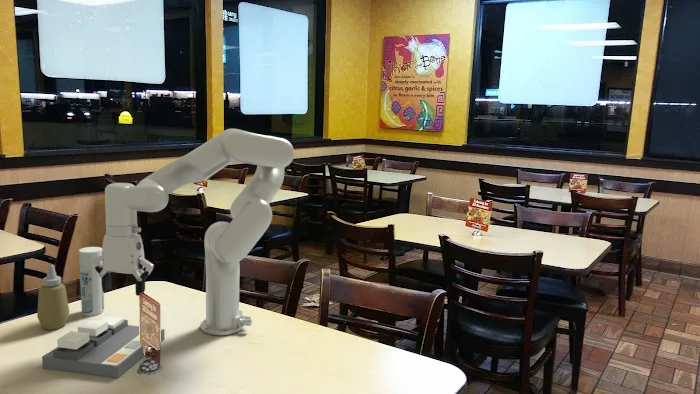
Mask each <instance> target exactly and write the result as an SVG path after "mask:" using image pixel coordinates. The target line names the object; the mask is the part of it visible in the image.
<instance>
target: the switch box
mask: <svg viewBox="0 0 700 394" xmlns="http://www.w3.org/2000/svg"><path fill="white" fill-rule="evenodd" d="M160 329H161V343H162V342H164V341H165V337H166V335H165V329H163V328H160ZM89 340H90V341H88V342H87V343H85V344H84V345H82V346H81V347H79V348H78V349H68V348H60V347H58V346H56V347H55V348H54V349H52V350H50V351H49V352H48V353H47V352H46V354H44V355H42V357H41V358H42V360H41V361H42V369H48V370H54V371H62V372H70V373H77V374H83V375H93V376H99V377H107V378H116V379H119V378H120V377H122V376H123V375H124V374H125V373H126V372H128V371H129V370H130V369H131V368H132V367H134V365H136V364H138V362H140V361H141V360H142V359H143V358H144V357H146V355H144V353H143V346H141V343H140V334H139V325H132V324H131V325H130V324H129V321H128V319H124V322H123V323H121V324H120V325H118V326H117V327H115V328H108V329H107V330H105V331H104V332H102V333H101V334H99V335H98V336H96V337H94V336H89Z"/></svg>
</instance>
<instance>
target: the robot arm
mask: <svg viewBox="0 0 700 394" xmlns="http://www.w3.org/2000/svg"><path fill="white" fill-rule="evenodd" d="M294 158H295V148H294V147H293V144H292V143H291V142H290V141H288V140H287V139H285V138H283V137H277V136H273V135H264V134H258V133H254V132H251V131H250V132H249V131H247V130H242V129H240V128H239V129H238V128H227V129H225V130H224V131H222V132H220V133H218V134H217V135H215V136H214V137H212V138H210V139H209V140H208V141H206V142H204V143H203V144H201V145H200V146H198V147H196V148H195V149H193V150H192V151H190V152H188V153H187V154H184V155H183V156H182V155H181V156H180V157H179V158H177V159H175V160H174V161H172V162H171V161H170V162H169V163H167V164H166V165H164V166H162V167H160V168H159V169H157V170H155V171H154V172H152V173H150V174H149V175H147V176H146V177H144V178H143V179H141V180H140V181H139V182H138V183H137V185H134V184H132V183H128V182H115V183H110V184H109V183H108V185H106V186H105V188H104V198H105V199H104V201H105V203H104V205H105V234H104V237H103V241H102V247H101V248H102V256H99V257H97V258H95V259H93V260H92V263H93V265H94V267H95V270H96V271H97V272H98V273H99V276H100V277H101V279H102V291H103V292H104V293H106V292H107V291H109V290H111V289H112V287H113V286H112V285H113V284H112V283H113V282H112V274H111V273H117V274H118V273H119V274H128V275H129V274H130V275H131V274H132V275H133V277H135V279H136V281H135V295H136V296H139V297H140V295H141V294H140V292H143V293H144V294H145V291H146V279H147V278H148V277H149V276H150V275H151V273H152V272H153V269H154V267H155V265H154V264H153V263H152V262H150V261H149V260H147V259H146V258H145V251H144V244H143V239H142V237H141V234H139V233H141V232H142V228H141V227H139V226H138V215H137V214H138V212H145V213H146V212H147V213H155V212H156V213H158V212H160V211H162V210H163V209H165V208H166V207H167V205H168V203H169V200H170V199H169V194H171V193H173V192H174V191H176V190H178V189H180V188H182V187H185V186H186V185H189V184H194V183H199V182H203V181H206V180H208V179H209V178H210V177H212V176H214V175H215V174H216V173H218V172H219V171H221V170H223V169H224V168H225V167H227V166H228V165H230V164H231V163H233V162H234V161H235V162H239V163H244V164H249V165H253V166H254V165H255V166H257V167H256V170H255V173H254V174H253V176H252V177H251V179H250V180H249V182H247V184H246V185H245V186H244V188H243V189H242V190H241V192H240V193H239V194H238V195H237V196H236V197H235V199H234V200H233V201H232V203H231V204H230V209H229V210H230V211H229V212H230V215H231V218H232V219H231V221H230V222H227V221H217V222H215V223H212V224H211V225H210V226H209V227H208V228H207V230H206V231H205V234H204V242H203V243H204V255H205V319H203V320H202V321H201V323H200V330H201V331H202V332H203V333H205V334H207V335H212V336H227V335H232V334H233V335H234V334H237V333H239V332H240V331H241V330H242V329H244V327H247V326H248V327H252V324H253V320H252V319H251V318H252V317H251V316H247V315H246V316H244V314H243V310H240V277H241V275H240V274H241V273H240V261H242V260H243V259H245V257H246V256H247V255H248V254H250V252H251V250H252V249H253V248H254V247H255V246H256V244H257V242H258V241H259V240H260V239H261V238H262V237H263V235H264V233H266V231H267V230H268V228H269V227H270V224H271V223H272V219H273V210H272V207H271V205H270V203H271V202H272V200H274V198H275V196H276V195H277V194H278V193H279V191H280V189H281V187H282V186H283V185H282V184H283V183H284V179H285V168H286V167H287V166H289V165H290V164H291V163H292V162H293V160H294ZM100 261H102V265H101V263H100ZM144 269H145V270H144ZM143 293H142V294H143Z"/></svg>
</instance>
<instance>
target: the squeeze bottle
mask: <svg viewBox="0 0 700 394" xmlns="http://www.w3.org/2000/svg"><path fill="white" fill-rule="evenodd" d="M47 269H48V270H47V273H46V277H43V278H42V280H41V281H42V285H41V286H40V287H39V288H38V298H37V299H38V301H37V315H36V317H37V319H38V321H39V323H40V326H41V327H42V329H43V330H49V331H50V330H51V331H52V330H57V329H61V328H63V327H64V326H66V325H67V321H68V318H69V314H70V307H69V302H68V295H67V289H66V285H65V284H64V283H62V277H61V276H60V275H57V272H56V268H55V266H54V265H53V264H51V265H48V268H47Z"/></svg>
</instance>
